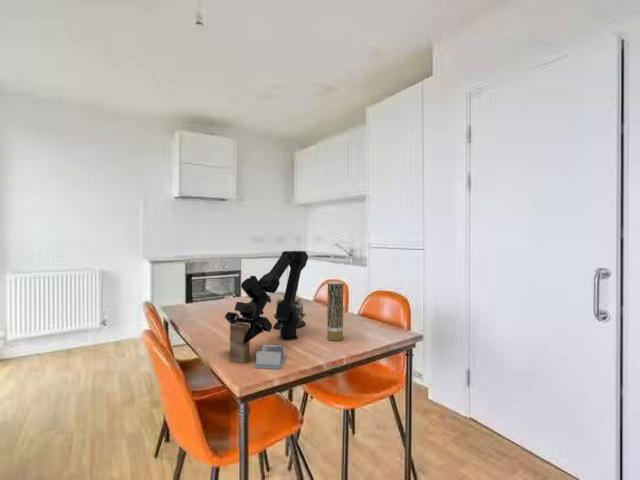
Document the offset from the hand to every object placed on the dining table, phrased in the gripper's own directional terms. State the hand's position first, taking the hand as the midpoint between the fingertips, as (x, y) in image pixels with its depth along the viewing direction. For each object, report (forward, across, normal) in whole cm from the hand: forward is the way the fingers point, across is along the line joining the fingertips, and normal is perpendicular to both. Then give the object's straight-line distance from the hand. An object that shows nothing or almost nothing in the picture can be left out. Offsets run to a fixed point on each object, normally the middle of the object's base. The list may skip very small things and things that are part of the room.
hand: (237, 341), depth 125 cm
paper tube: (-24, +19, +34) cm, 46 cm away
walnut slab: (+4, 0, +6) cm, 7 cm away
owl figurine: (-29, -10, +39) cm, 50 cm away
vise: (0, +11, +10) cm, 14 cm away
